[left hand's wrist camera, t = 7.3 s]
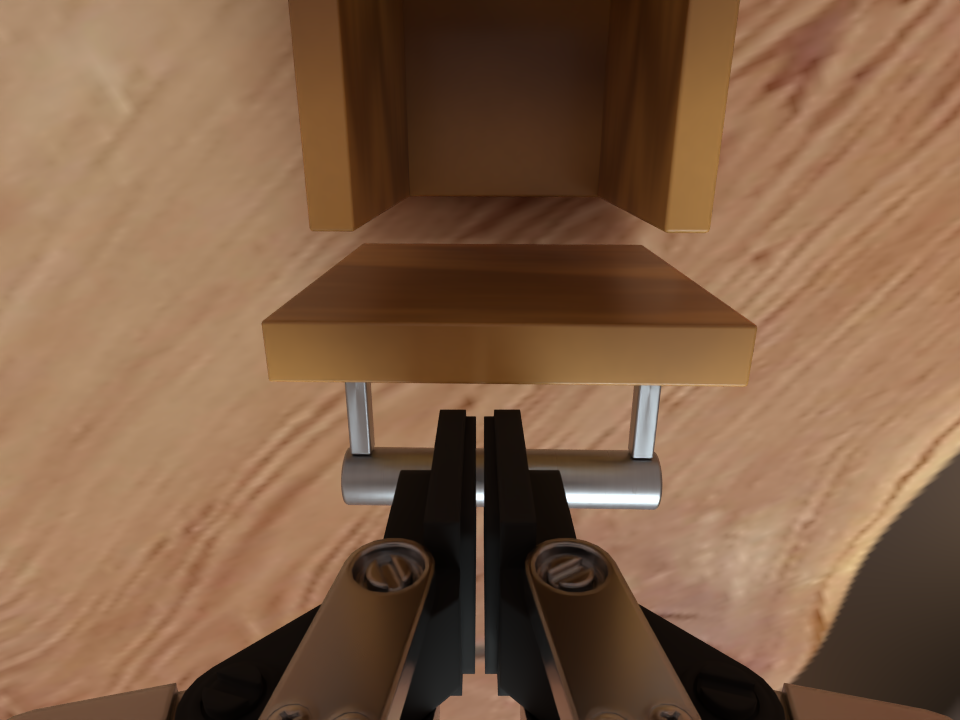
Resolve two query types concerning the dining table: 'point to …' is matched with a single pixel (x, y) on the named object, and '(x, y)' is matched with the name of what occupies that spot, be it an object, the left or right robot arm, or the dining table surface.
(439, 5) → the drawer
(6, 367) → the dining table surface
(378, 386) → the dining table surface
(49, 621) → the dining table surface
